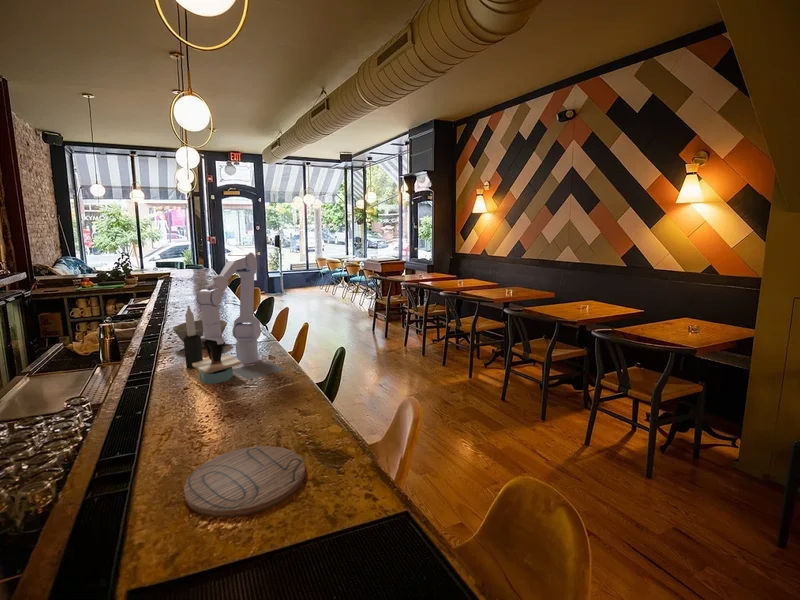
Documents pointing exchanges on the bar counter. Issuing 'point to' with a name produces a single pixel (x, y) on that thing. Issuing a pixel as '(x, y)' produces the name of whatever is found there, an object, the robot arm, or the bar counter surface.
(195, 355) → the candle
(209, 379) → the dish
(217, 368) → the lid
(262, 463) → the trivet
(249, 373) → the tray
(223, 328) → the ceramic bowl
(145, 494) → the bar counter surface
